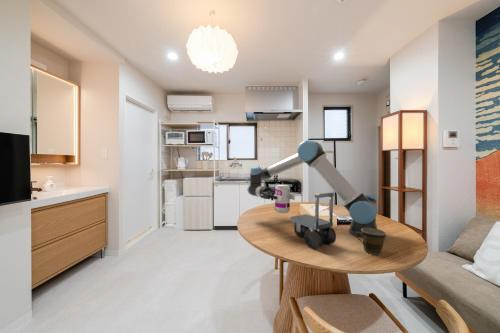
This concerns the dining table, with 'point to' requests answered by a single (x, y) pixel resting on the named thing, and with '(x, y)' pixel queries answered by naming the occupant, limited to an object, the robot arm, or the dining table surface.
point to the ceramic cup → (372, 240)
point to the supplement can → (285, 203)
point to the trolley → (316, 225)
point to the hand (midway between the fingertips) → (288, 198)
